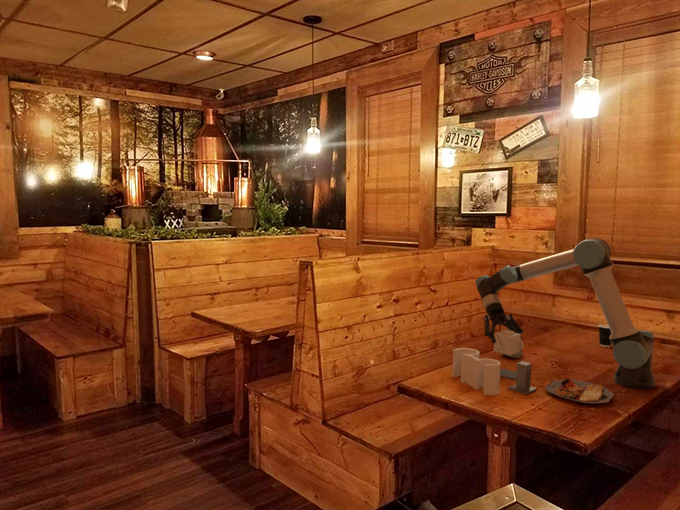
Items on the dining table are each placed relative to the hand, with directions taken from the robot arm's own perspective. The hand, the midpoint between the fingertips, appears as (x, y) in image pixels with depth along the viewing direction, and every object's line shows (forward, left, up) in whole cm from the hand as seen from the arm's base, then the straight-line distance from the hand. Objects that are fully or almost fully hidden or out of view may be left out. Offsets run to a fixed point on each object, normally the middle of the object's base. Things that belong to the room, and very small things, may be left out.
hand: (510, 348), depth 226 cm
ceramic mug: (+15, -29, -13) cm, 35 cm away
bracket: (+3, +20, -13) cm, 24 cm away
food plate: (-30, -2, -13) cm, 32 cm away
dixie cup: (-7, -88, -12) cm, 89 cm away
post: (-13, +11, -12) cm, 21 cm away
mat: (+1, -2, -12) cm, 12 cm away
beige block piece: (+3, -1, -2) cm, 4 cm away
